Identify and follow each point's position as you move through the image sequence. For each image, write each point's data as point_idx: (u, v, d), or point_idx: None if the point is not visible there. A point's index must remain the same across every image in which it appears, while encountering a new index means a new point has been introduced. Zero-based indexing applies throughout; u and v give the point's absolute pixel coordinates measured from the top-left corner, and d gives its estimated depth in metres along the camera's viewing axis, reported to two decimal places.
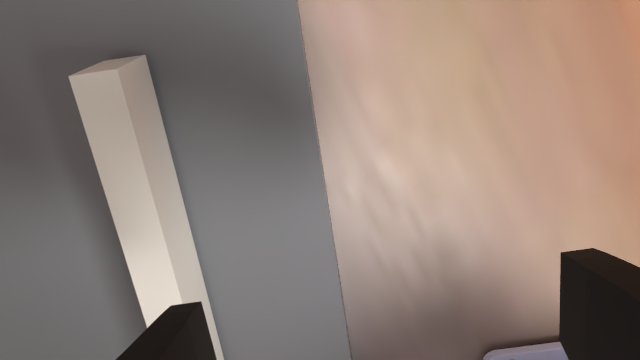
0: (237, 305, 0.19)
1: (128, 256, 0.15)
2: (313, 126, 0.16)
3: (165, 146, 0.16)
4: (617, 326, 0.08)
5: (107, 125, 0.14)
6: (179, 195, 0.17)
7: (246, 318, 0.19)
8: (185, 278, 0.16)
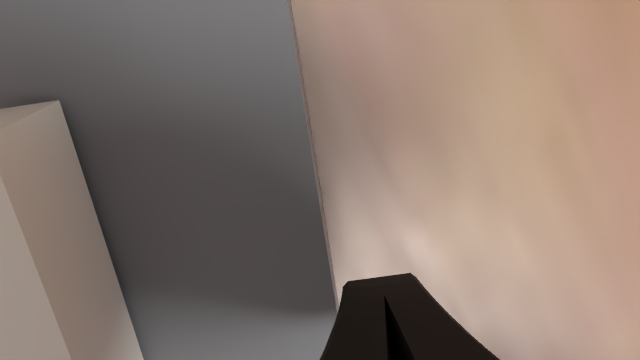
0: None
1: None
2: (317, 202, 0.11)
3: (94, 235, 0.11)
4: (400, 355, 0.09)
5: None
6: (119, 302, 0.11)
7: None
8: None
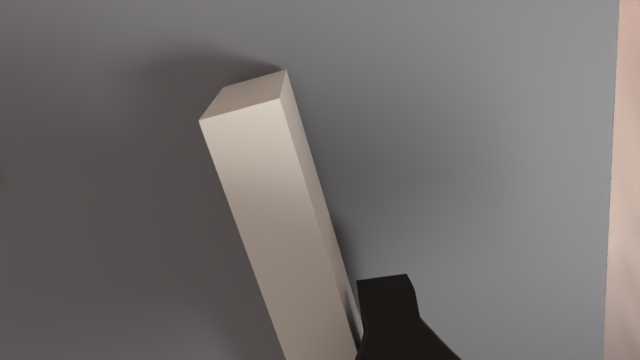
0: None
1: None
2: (609, 161, 0.11)
3: (324, 204, 0.10)
4: None
5: (265, 193, 0.08)
6: (345, 273, 0.11)
7: None
8: None
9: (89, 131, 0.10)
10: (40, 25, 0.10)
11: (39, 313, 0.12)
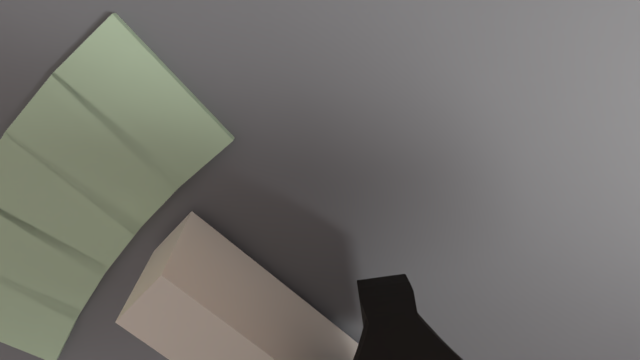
0: None
1: None
2: None
3: (289, 298, 0.11)
4: None
5: (202, 346, 0.09)
6: (345, 340, 0.12)
7: None
8: None
9: (333, 90, 0.10)
10: None
11: None
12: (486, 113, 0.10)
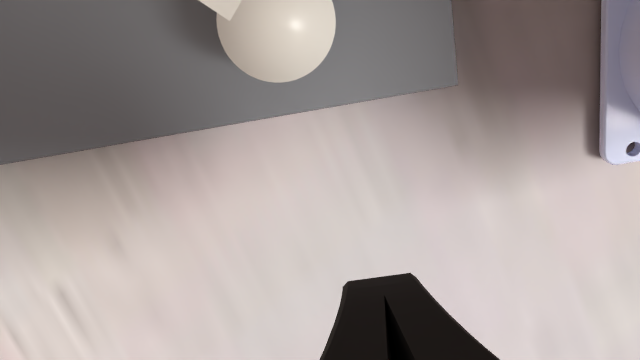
0: None
1: None
2: None
3: None
4: (400, 355, 0.09)
5: None
6: None
7: None
8: None
9: None
10: None
11: None
12: None
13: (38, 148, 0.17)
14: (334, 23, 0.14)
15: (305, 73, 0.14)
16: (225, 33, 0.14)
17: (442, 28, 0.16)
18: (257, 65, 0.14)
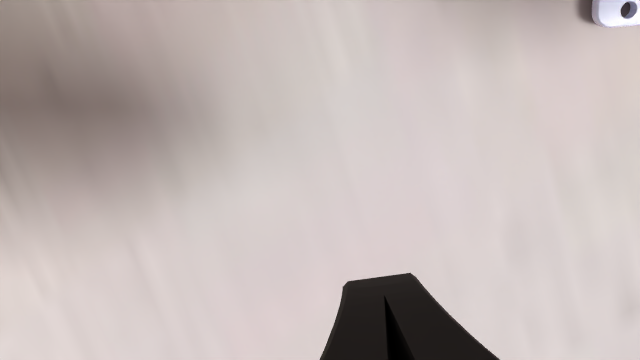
0: None
1: None
2: None
3: None
4: (399, 355, 0.09)
5: None
6: None
7: None
8: None
9: None
10: None
11: None
12: None
13: None
14: None
15: None
16: None
17: None
18: None
